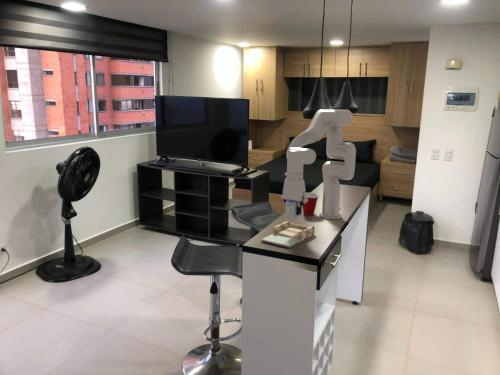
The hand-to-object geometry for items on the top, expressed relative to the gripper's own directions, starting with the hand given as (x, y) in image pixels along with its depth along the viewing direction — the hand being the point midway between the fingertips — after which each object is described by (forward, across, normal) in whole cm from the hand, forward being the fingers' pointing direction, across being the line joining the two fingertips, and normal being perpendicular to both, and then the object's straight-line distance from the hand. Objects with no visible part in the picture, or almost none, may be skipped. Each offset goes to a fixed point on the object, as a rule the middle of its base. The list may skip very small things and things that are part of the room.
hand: (293, 213), depth 196 cm
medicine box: (+2, 0, 0) cm, 2 cm away
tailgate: (+10, 0, -6) cm, 12 cm away
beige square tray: (+11, 0, +1) cm, 11 cm away
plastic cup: (+11, -12, +40) cm, 43 cm away
